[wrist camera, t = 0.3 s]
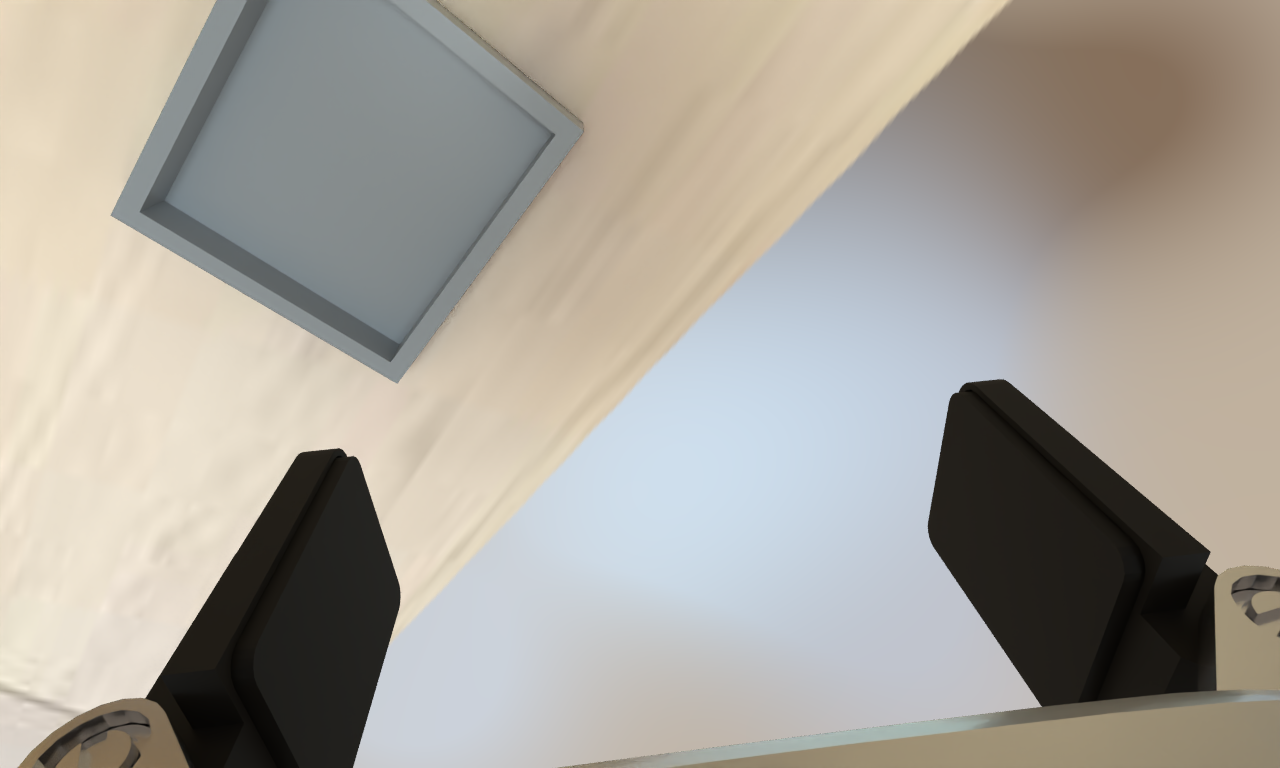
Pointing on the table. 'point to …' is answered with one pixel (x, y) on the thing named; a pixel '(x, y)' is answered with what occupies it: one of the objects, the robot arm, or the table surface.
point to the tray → (346, 164)
